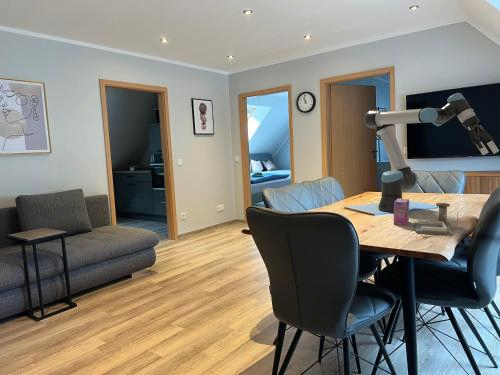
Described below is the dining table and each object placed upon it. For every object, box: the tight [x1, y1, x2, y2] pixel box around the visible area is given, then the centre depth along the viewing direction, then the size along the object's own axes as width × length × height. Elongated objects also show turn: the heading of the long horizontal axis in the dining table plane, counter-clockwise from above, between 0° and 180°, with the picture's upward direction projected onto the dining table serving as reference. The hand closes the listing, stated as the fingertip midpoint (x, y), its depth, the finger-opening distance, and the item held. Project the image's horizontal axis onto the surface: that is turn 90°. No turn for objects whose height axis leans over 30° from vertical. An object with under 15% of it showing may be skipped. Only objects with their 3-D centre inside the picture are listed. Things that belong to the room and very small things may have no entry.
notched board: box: [414, 219, 452, 235], centre depth 171 cm, size 14×17×3 cm
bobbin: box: [435, 202, 451, 226], centre depth 182 cm, size 6×6×10 cm
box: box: [393, 198, 410, 226], centre depth 186 cm, size 10×6×12 cm, turn 148°
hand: (491, 153), depth 188 cm, fingers open, 13 cm apart
